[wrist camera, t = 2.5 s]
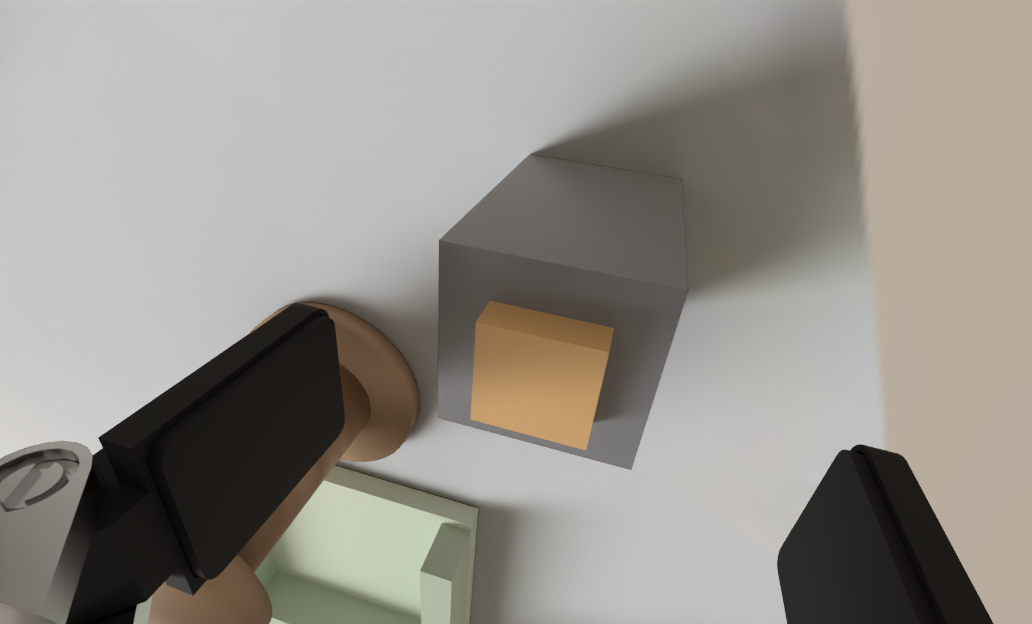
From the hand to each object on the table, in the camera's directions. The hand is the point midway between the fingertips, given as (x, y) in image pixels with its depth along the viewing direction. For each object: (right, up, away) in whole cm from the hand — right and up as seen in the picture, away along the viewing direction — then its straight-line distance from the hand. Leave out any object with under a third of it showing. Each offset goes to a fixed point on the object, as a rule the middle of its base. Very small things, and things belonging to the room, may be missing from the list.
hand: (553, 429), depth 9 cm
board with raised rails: (-10, -11, +20) cm, 25 cm away
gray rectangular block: (+2, +5, +6) cm, 8 cm away
